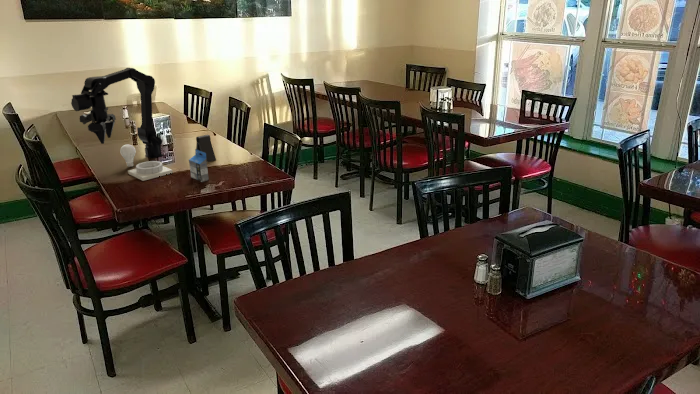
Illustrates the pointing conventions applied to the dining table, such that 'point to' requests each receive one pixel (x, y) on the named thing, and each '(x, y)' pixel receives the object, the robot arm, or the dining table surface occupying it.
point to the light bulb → (128, 154)
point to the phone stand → (205, 147)
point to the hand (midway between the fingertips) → (106, 140)
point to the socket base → (149, 176)
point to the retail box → (199, 166)
